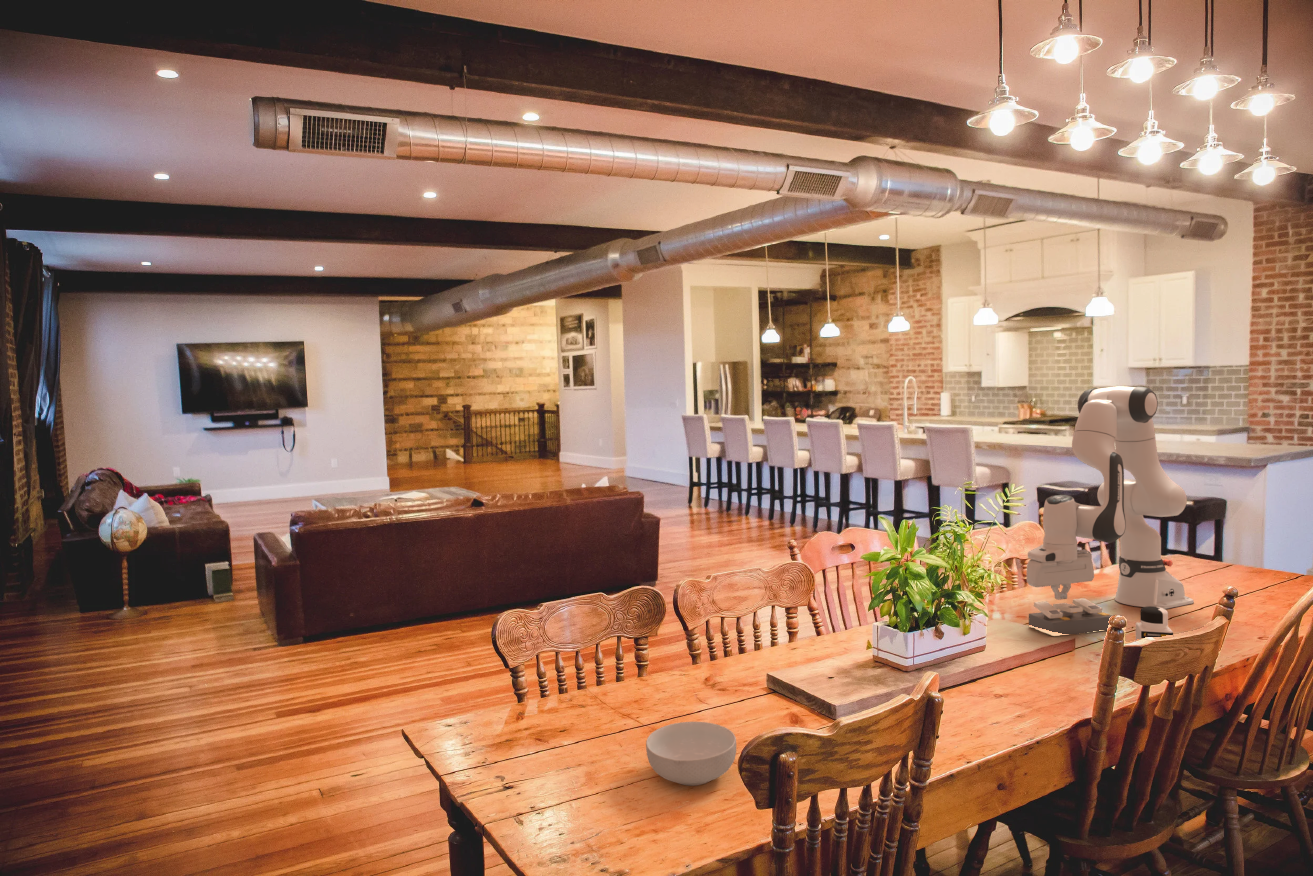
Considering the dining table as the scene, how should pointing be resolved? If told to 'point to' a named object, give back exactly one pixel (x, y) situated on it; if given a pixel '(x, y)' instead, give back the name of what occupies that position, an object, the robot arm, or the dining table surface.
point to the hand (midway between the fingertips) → (1060, 599)
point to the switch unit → (1071, 622)
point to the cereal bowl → (691, 752)
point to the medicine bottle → (1153, 623)
